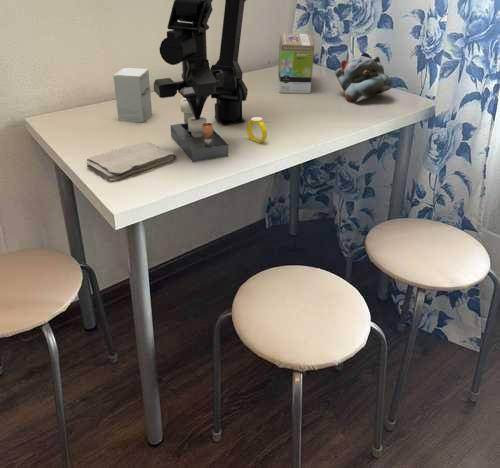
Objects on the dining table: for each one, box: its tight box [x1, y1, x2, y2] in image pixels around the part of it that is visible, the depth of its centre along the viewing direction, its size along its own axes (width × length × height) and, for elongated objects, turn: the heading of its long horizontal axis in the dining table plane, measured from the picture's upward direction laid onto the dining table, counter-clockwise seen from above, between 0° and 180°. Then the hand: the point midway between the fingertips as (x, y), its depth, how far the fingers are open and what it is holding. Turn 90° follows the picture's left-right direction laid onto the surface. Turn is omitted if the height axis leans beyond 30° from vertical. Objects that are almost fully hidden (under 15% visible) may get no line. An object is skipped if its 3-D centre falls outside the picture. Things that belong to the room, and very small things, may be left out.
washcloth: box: [86, 140, 178, 183], centre depth 133 cm, size 12×18×3 cm, turn 134°
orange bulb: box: [202, 122, 214, 146], centre depth 134 cm, size 2×2×5 cm
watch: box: [246, 116, 268, 144], centre depth 144 cm, size 6×3×6 cm, turn 43°
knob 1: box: [179, 97, 194, 124], centre depth 144 cm, size 4×4×6 cm
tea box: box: [277, 33, 315, 94], centre depth 180 cm, size 15×10×15 cm
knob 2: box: [188, 116, 207, 138], centre depth 141 cm, size 4×4×6 cm
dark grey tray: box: [170, 122, 230, 163], centre depth 142 cm, size 9×17×3 cm, turn 23°
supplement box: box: [113, 67, 153, 123], centre depth 156 cm, size 7×7×13 cm
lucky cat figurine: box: [334, 52, 393, 104], centre depth 172 cm, size 15×12×14 cm
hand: (197, 119), depth 140 cm, fingers closed, pressing on knob 2
